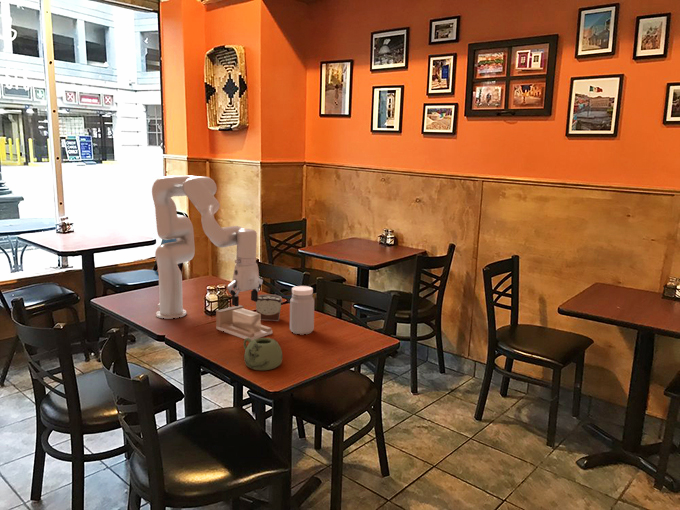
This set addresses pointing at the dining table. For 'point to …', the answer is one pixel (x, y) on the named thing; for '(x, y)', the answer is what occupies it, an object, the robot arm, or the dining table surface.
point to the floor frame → (226, 324)
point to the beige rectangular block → (247, 320)
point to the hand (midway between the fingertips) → (244, 303)
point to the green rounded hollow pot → (262, 353)
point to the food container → (269, 306)
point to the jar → (302, 310)
